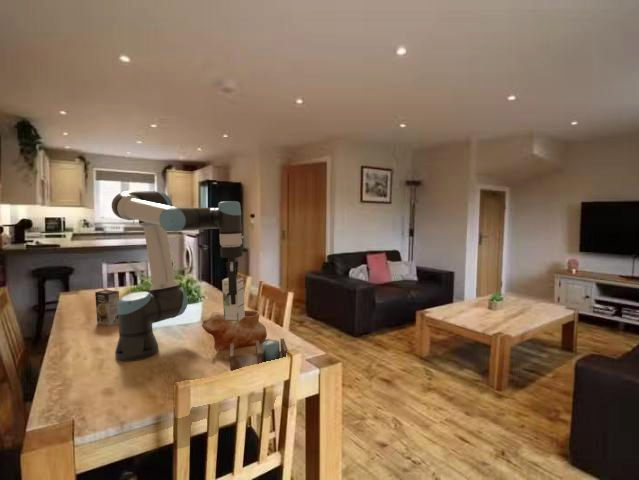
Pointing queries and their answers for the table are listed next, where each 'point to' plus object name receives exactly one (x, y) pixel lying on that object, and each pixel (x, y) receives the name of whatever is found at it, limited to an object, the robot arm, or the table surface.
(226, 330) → the ceramic vessel
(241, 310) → the syrup box
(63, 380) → the table surface
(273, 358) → the grey-blue rounded cube
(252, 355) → the slot rack
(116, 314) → the coffee box
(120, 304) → the robot arm
